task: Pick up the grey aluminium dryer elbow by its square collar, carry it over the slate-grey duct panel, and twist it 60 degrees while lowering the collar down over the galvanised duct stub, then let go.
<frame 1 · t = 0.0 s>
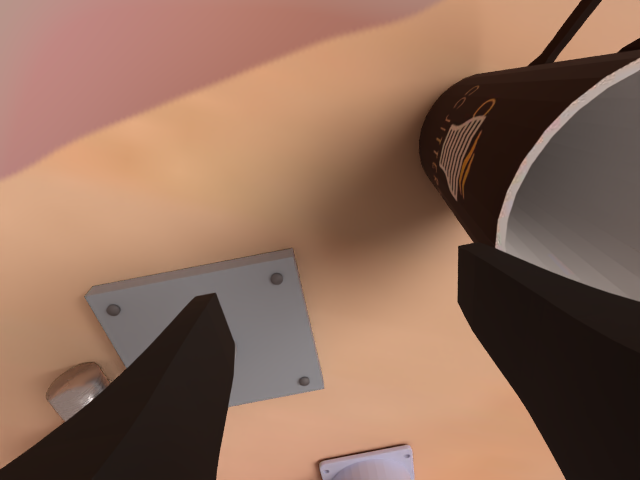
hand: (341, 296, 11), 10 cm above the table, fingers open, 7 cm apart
duct panel: (220, 336, 24), on the table
coffee mug: (496, 113, 19), on the table
elbow: (129, 428, 27), on the table
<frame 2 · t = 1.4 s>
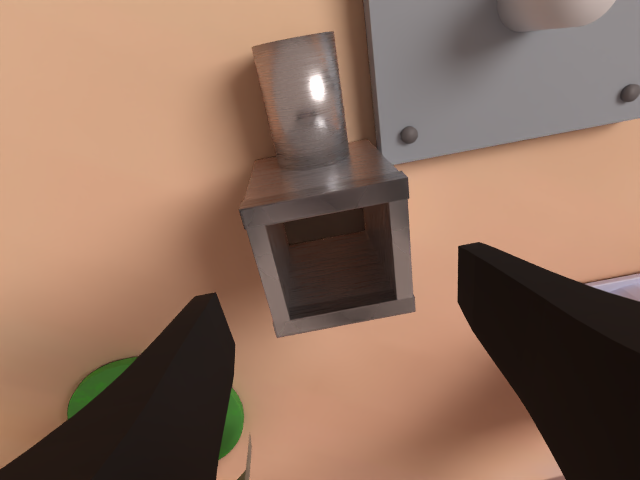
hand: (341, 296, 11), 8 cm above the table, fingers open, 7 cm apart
miniature tree model: (160, 417, 24), on the table
elbow: (320, 202, 18), on the table
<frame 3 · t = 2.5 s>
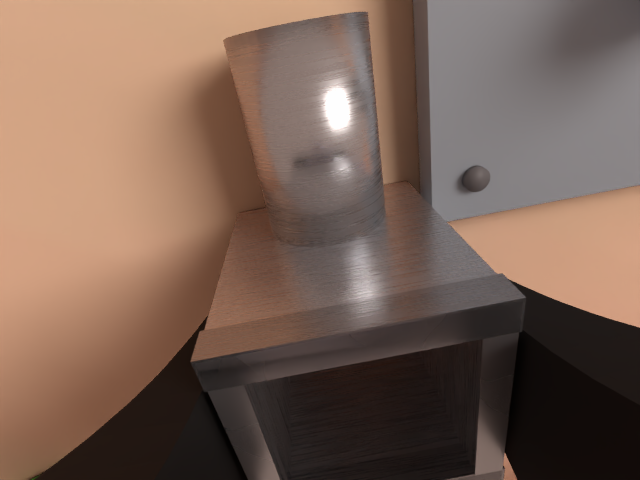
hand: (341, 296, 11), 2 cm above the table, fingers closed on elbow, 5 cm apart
elbow: (335, 268, 12), on the table, touching gripper
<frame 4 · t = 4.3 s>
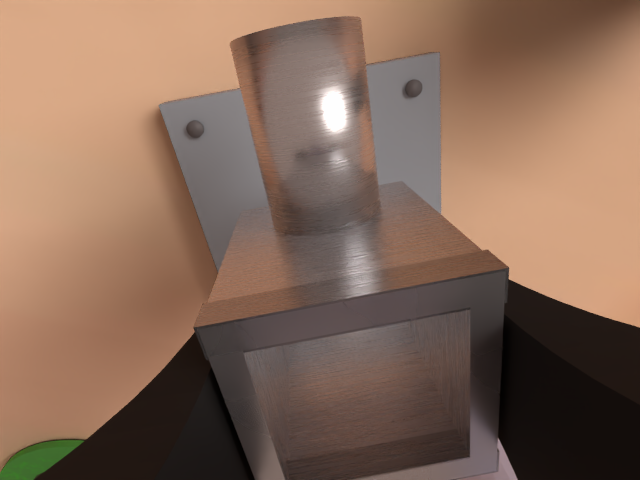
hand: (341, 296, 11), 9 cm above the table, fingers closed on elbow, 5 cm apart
duct panel: (318, 192, 19), on the table
elbow: (333, 267, 13), point 7 cm above the table, touching gripper
when the fingers open (4 cm above the table, at t = 6.0 s): elbow stays where it is, resting on duct panel.
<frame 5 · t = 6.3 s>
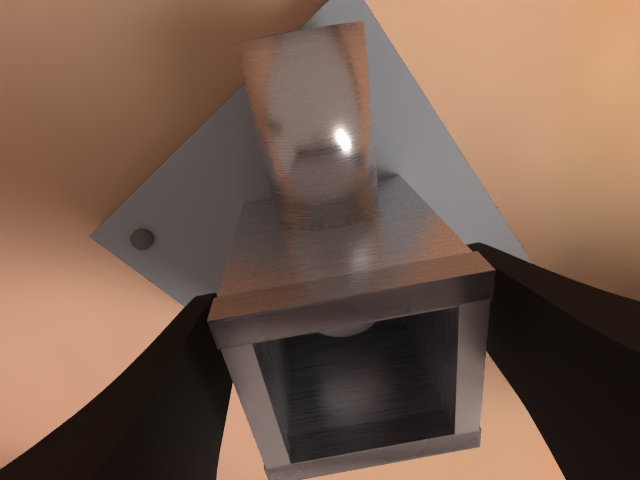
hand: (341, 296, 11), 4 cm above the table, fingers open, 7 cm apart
duct panel: (328, 241, 14), on the table
elbow: (332, 255, 13), point 1 cm above the table, touching duct panel
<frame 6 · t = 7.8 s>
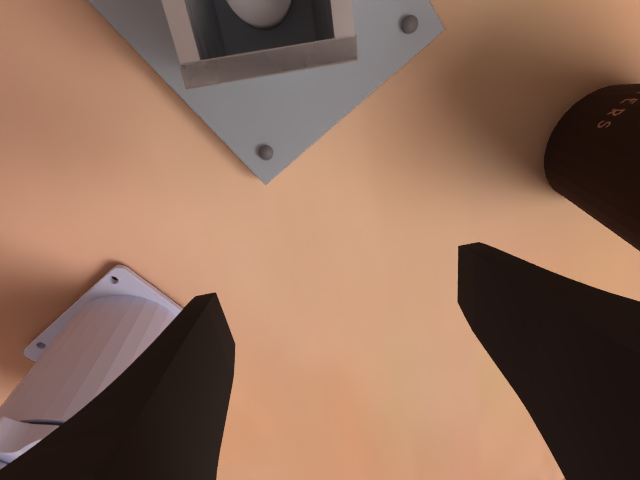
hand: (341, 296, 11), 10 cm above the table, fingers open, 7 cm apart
duct panel: (263, 0, 16), on the table
coffee mug: (619, 146, 21), on the table
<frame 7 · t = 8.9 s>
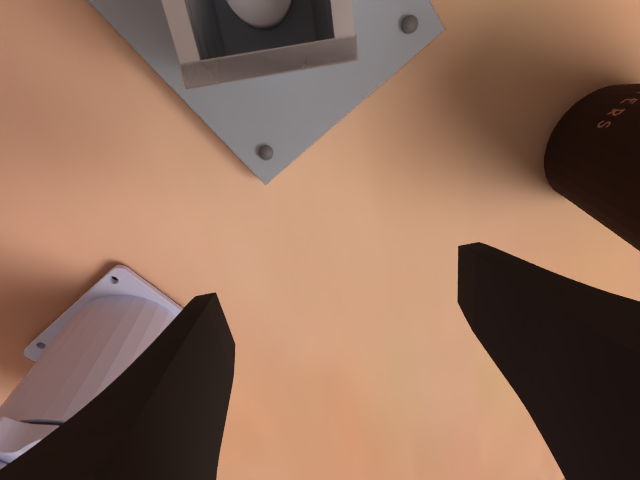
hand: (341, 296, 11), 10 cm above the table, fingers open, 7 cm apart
duct panel: (263, 0, 16), on the table
coffee mug: (619, 146, 21), on the table
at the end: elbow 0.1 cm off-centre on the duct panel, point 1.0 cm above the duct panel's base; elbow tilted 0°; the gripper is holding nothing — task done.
